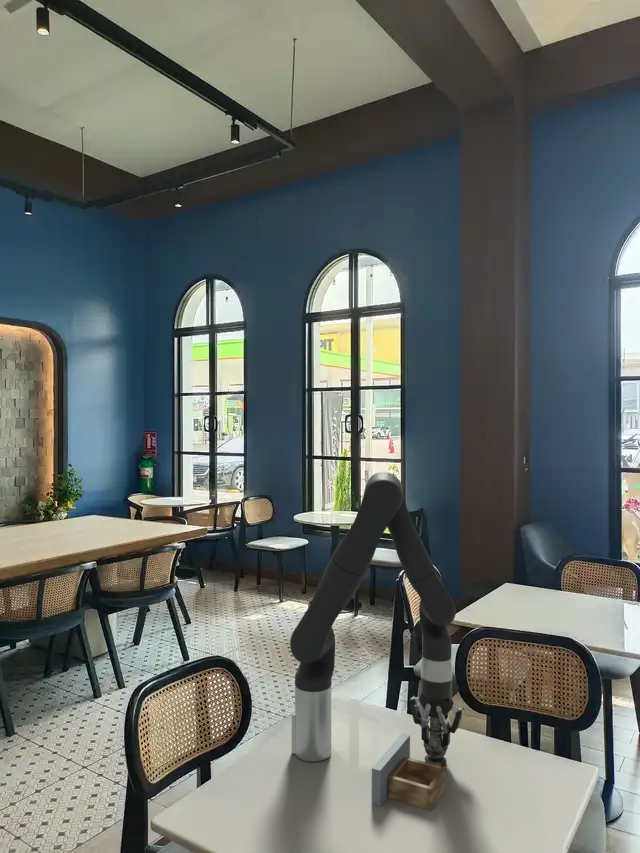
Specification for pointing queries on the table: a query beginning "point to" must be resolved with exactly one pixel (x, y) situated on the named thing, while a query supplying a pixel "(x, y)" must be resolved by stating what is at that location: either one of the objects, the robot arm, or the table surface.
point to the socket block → (417, 783)
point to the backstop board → (388, 768)
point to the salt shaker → (435, 744)
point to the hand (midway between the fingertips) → (435, 744)
